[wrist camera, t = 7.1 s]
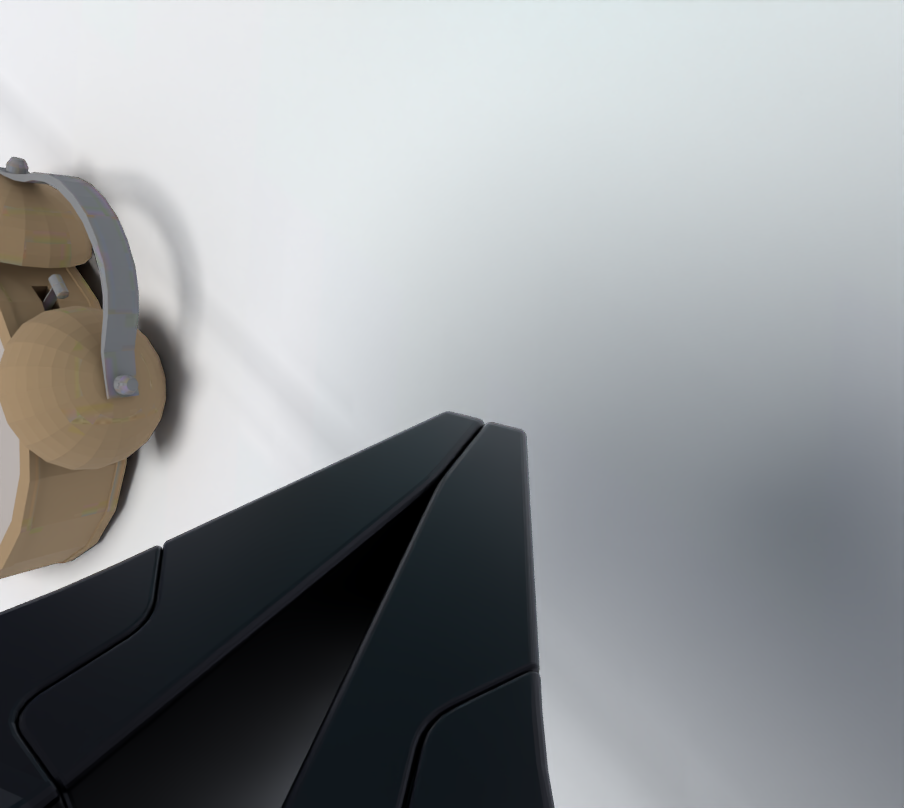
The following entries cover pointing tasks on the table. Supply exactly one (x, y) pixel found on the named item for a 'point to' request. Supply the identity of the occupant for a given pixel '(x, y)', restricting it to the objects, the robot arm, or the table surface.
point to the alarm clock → (66, 368)
